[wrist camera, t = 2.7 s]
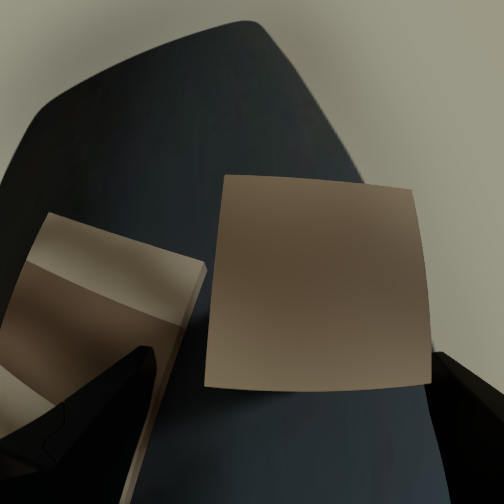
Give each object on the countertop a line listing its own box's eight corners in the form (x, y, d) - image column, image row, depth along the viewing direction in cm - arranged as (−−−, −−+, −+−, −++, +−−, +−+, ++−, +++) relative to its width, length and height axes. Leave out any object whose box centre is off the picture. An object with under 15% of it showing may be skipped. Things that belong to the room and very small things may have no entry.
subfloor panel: (117, 550, 12) (109, 559, 11) (-13, 460, 14) (-25, 462, 12) (207, 270, 20) (203, 261, 18) (58, 221, 21) (49, 212, 20)
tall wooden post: (316, 382, 17) (436, 389, 5) (235, 379, 17) (195, 393, 5) (318, 304, 19) (415, 185, 7) (240, 300, 19) (219, 169, 7)
